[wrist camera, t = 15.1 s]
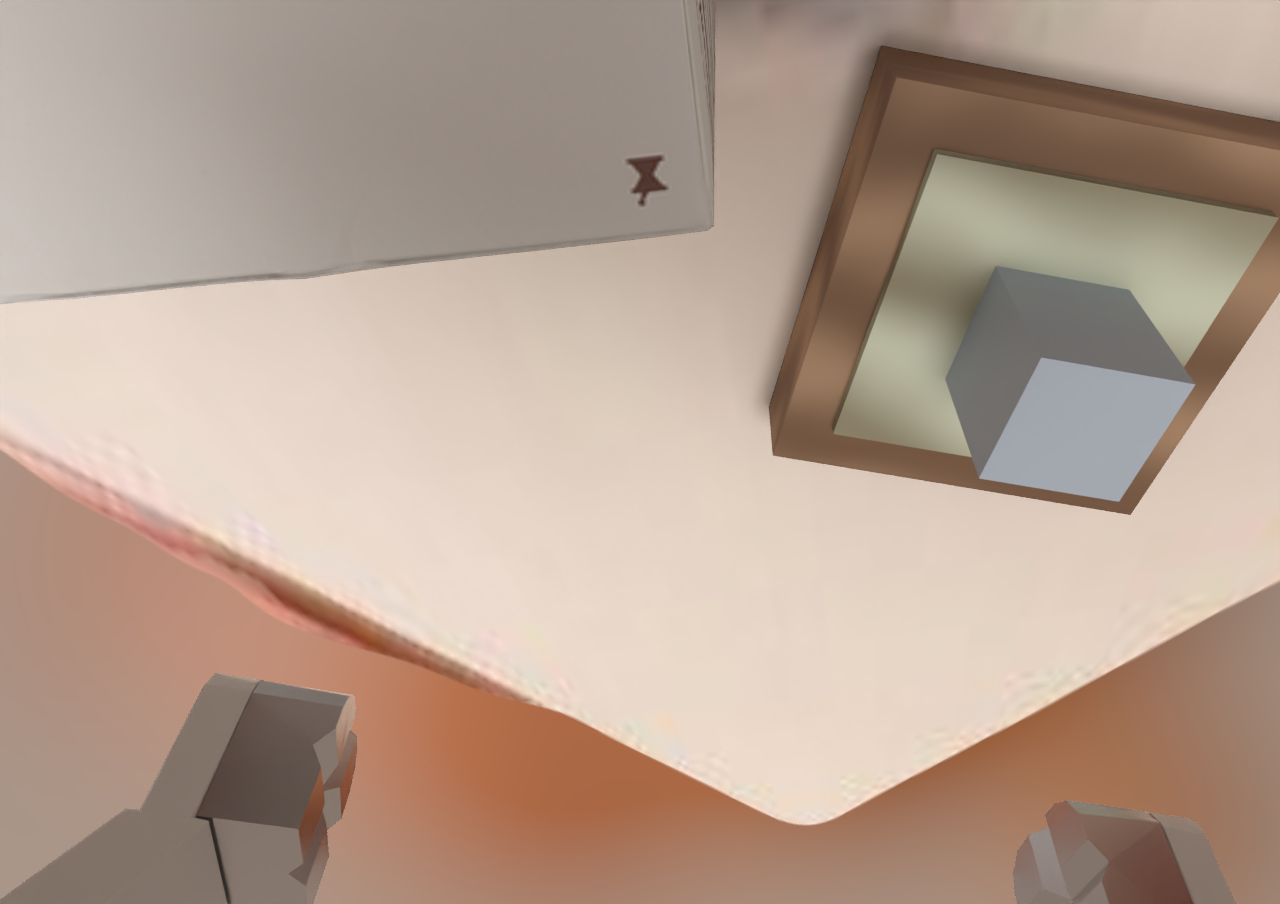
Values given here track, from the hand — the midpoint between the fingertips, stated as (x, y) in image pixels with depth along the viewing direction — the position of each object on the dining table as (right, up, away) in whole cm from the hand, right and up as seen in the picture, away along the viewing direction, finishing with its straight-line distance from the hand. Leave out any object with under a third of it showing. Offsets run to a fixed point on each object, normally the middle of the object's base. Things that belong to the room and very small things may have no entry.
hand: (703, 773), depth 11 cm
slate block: (+14, +8, +25) cm, 30 cm away
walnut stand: (+14, +11, +28) cm, 33 cm away
